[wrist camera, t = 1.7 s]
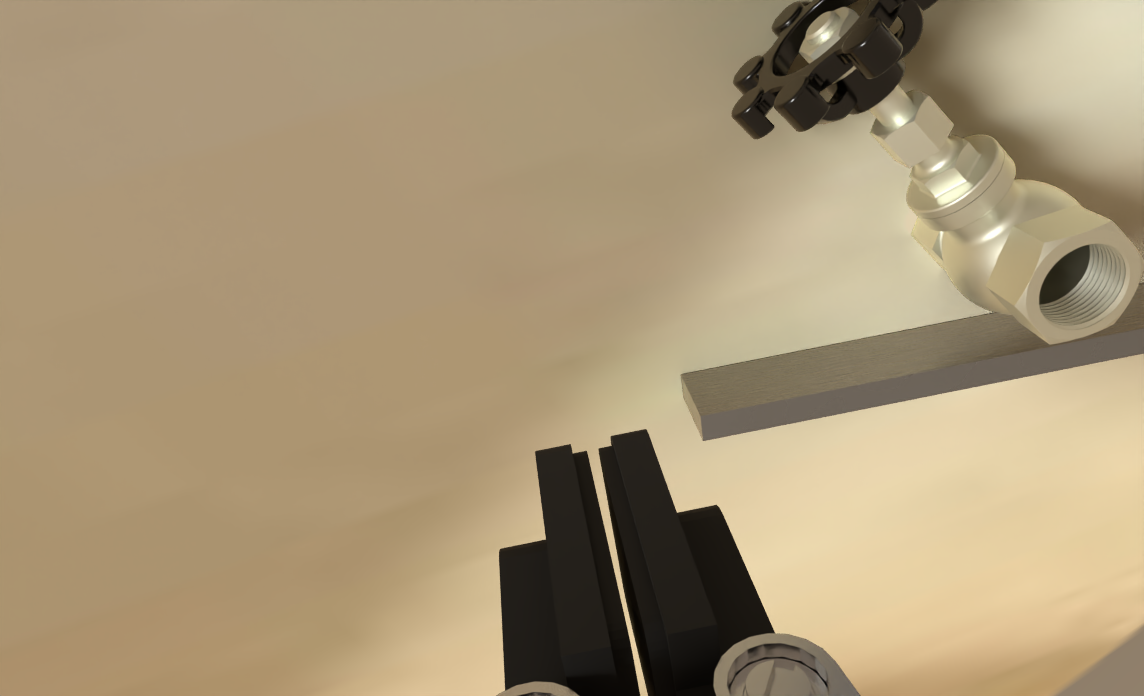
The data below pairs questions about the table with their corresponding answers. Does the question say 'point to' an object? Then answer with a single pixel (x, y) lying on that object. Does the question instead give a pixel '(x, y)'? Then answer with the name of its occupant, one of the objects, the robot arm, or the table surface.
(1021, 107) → the table surface
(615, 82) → the table surface
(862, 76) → the valve
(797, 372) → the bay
